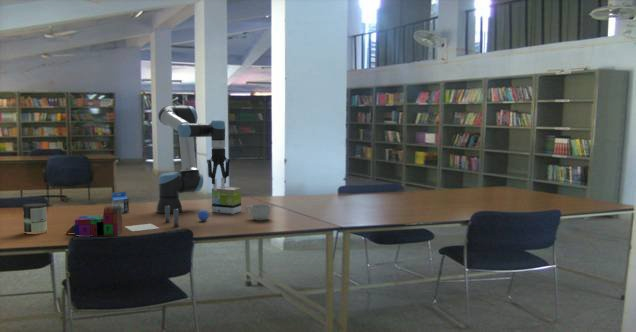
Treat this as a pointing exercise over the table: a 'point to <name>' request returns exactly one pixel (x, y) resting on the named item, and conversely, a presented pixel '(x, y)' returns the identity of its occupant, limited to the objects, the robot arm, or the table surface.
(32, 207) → the coffee can
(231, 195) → the tea box
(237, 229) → the table surface
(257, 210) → the teacup
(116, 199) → the label tape box
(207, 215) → the ball
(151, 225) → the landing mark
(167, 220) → the gate posts
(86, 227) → the block puzzle
